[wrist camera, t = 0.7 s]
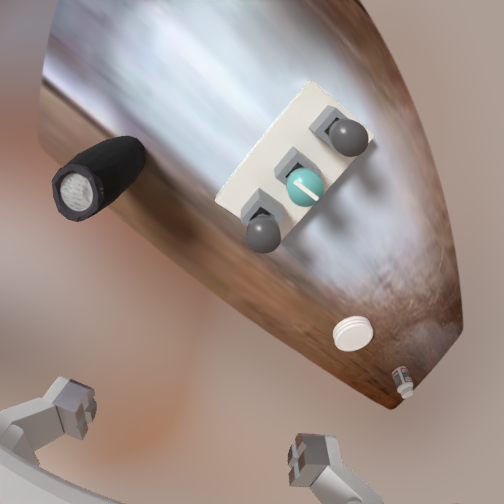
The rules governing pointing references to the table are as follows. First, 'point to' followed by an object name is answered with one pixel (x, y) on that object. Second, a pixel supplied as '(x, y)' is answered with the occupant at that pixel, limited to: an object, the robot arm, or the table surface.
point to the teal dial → (304, 187)
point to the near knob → (348, 137)
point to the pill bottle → (403, 381)
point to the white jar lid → (352, 333)
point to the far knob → (263, 234)
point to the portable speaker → (97, 177)
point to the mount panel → (288, 159)
